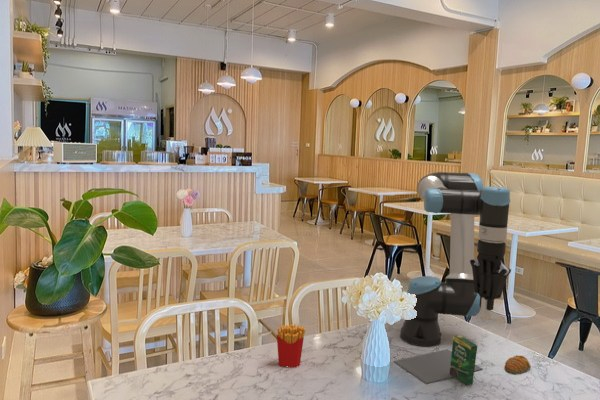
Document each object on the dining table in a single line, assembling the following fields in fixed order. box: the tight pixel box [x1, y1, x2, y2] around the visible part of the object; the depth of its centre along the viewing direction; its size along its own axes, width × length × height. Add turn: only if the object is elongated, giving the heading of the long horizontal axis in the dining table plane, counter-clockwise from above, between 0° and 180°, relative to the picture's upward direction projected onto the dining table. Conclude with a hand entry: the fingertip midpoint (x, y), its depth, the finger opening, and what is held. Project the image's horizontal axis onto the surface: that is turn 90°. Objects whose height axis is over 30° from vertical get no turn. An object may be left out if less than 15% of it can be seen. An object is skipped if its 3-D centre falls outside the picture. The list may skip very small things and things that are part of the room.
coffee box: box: [450, 334, 478, 387], centre depth 147 cm, size 8×3×13 cm, turn 24°
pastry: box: [504, 354, 532, 375], centre depth 156 cm, size 9×7×4 cm
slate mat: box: [393, 348, 484, 385], centre depth 157 cm, size 16×24×1 cm, turn 117°
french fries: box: [276, 323, 306, 368], centre depth 153 cm, size 9×4×13 cm, turn 92°
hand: (485, 319), depth 138 cm, fingers closed
